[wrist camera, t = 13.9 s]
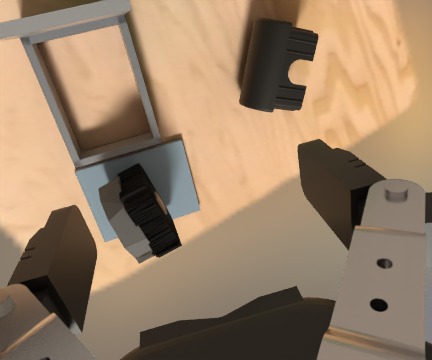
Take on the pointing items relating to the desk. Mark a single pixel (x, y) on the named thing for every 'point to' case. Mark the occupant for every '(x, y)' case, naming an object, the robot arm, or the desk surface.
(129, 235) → the cpu cooler
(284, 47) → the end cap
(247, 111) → the desk surface
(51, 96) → the open rectangular frame
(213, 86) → the desk surface
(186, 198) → the rubber mat
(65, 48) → the desk surface
